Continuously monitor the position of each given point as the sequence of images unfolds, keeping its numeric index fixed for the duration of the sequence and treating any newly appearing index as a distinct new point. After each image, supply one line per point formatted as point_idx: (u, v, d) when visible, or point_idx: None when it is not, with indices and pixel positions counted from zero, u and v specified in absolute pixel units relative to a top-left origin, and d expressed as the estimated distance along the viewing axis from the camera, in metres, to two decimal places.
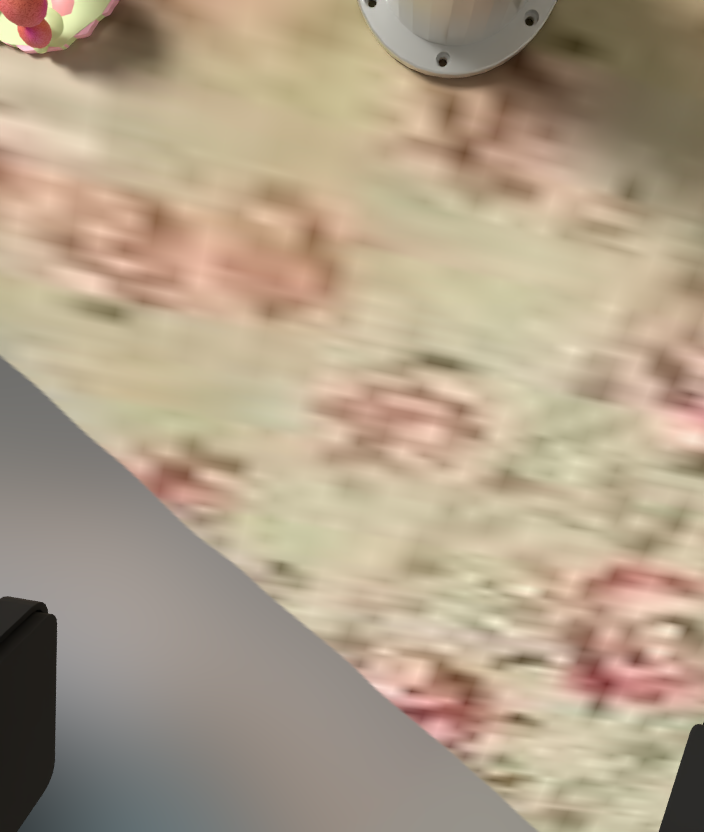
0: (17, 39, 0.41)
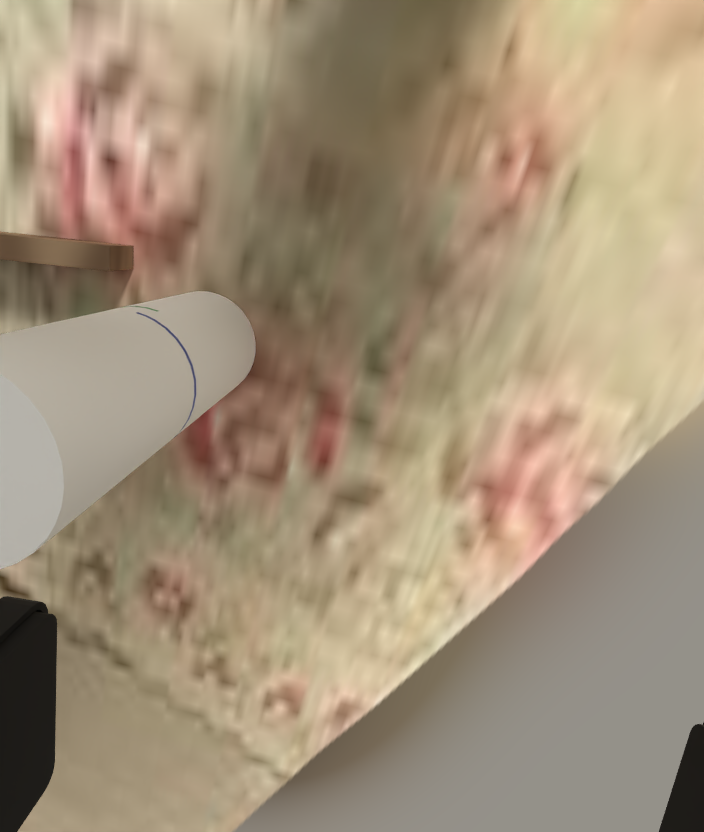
0: None
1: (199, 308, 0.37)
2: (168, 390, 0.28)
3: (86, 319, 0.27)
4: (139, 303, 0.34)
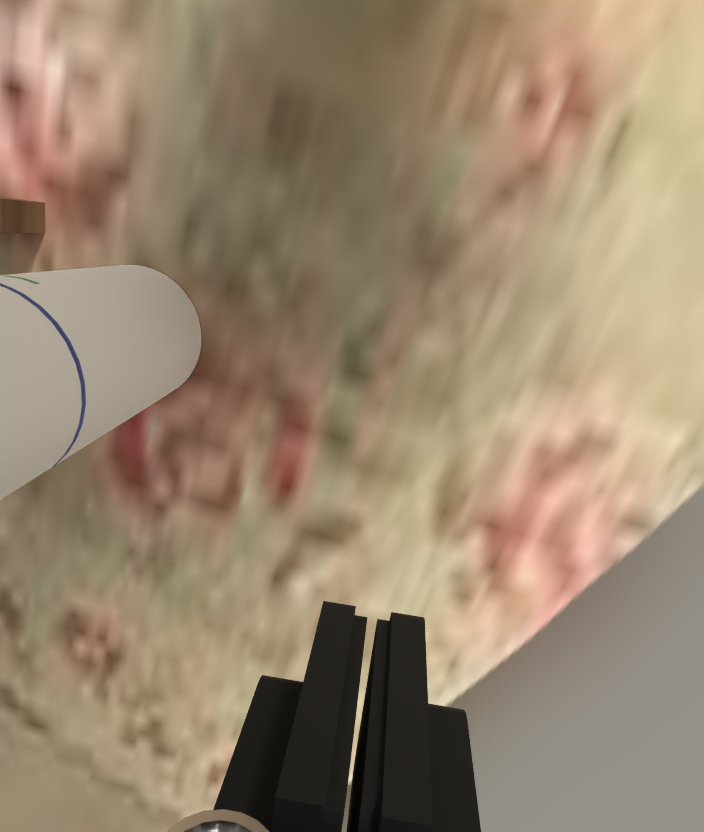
0: None
1: (114, 284, 0.27)
2: (22, 400, 0.18)
3: None
4: (21, 273, 0.25)
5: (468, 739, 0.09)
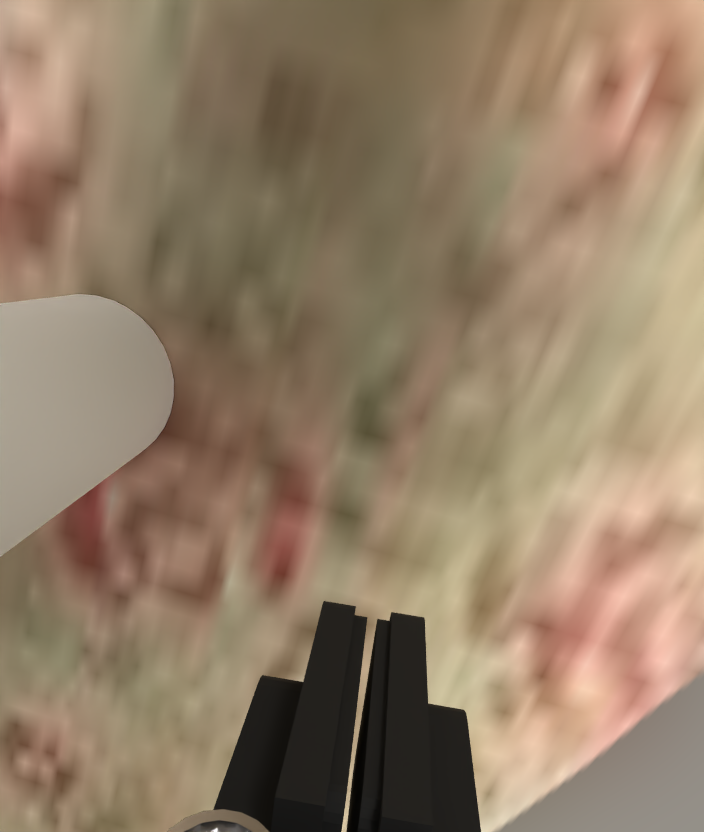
0: None
1: (46, 326, 0.20)
2: None
3: None
4: None
5: (467, 740, 0.09)
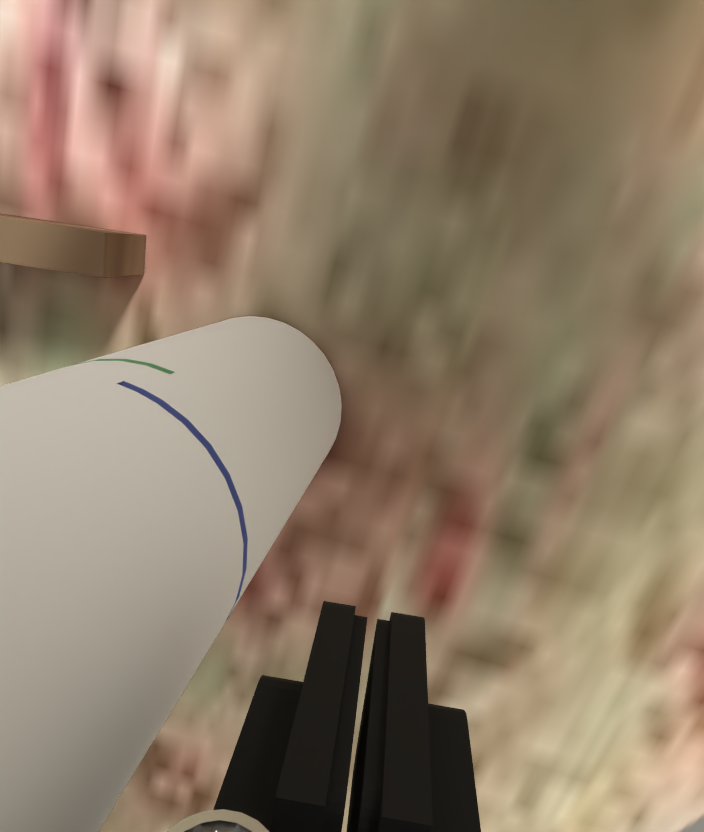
0: None
1: (256, 357, 0.19)
2: (178, 617, 0.10)
3: None
4: (138, 348, 0.17)
5: (467, 740, 0.09)
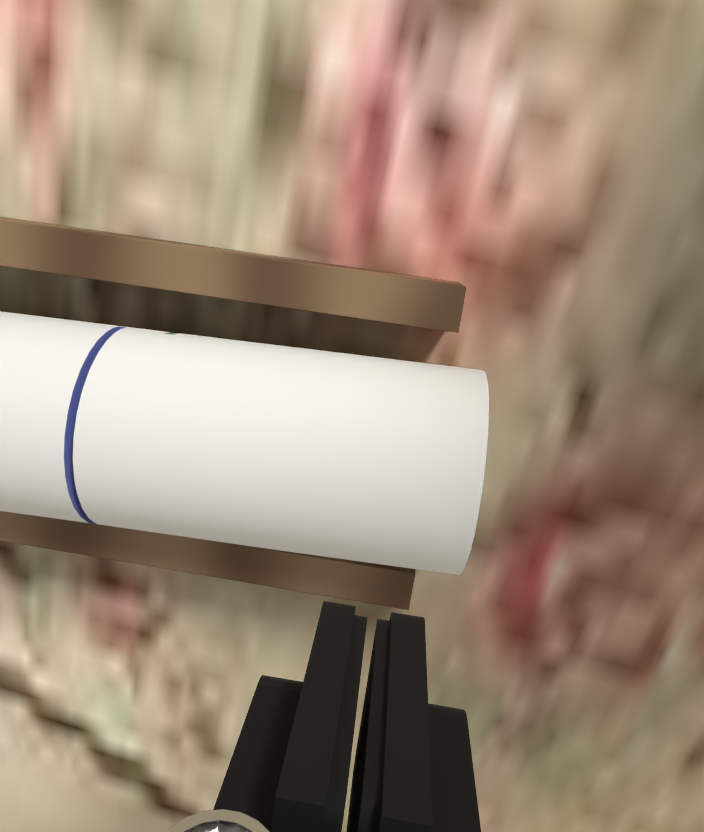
0: None
1: (298, 356, 0.21)
2: None
3: None
4: None
5: (468, 740, 0.09)
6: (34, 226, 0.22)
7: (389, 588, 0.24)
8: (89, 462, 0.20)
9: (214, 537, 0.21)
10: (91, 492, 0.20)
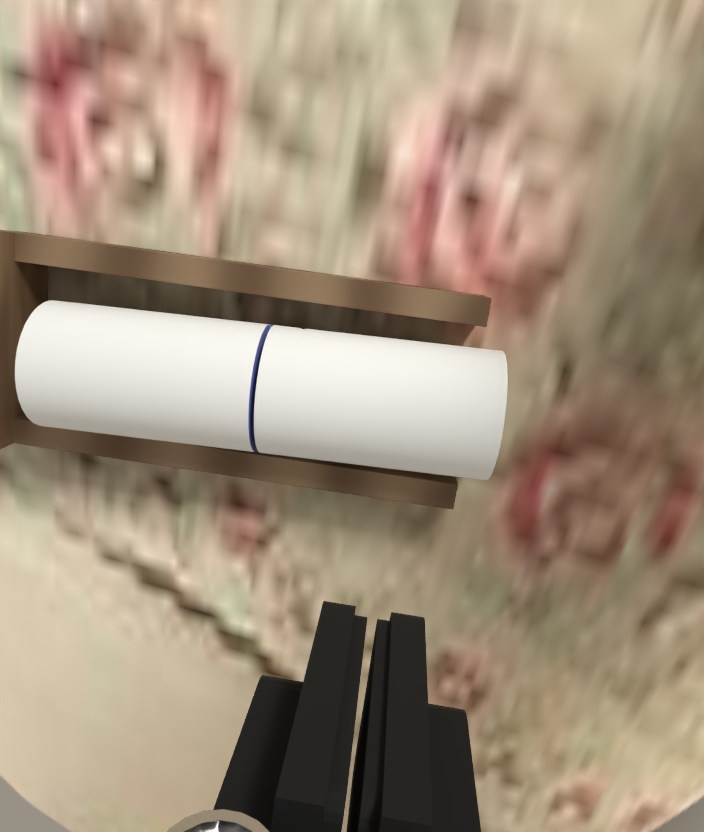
0: None
1: (387, 342, 0.34)
2: (189, 363, 0.33)
3: None
4: None
5: (467, 740, 0.09)
6: (218, 261, 0.35)
7: (440, 495, 0.37)
8: (264, 406, 0.33)
9: (335, 456, 0.34)
10: (263, 425, 0.33)
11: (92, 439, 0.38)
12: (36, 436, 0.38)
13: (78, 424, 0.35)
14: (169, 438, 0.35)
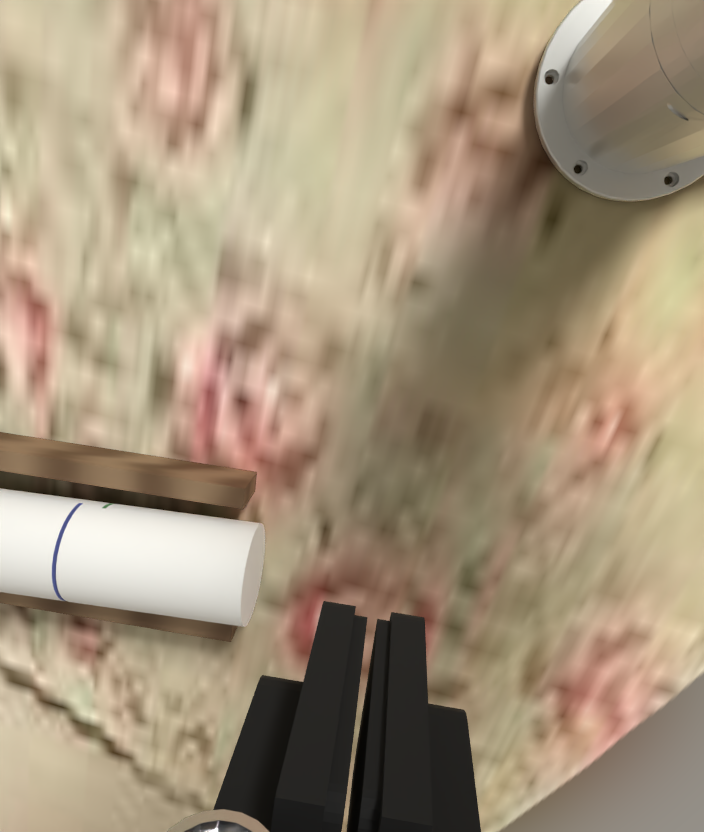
0: None
1: (164, 522, 0.44)
2: (7, 543, 0.43)
3: (34, 494, 0.46)
4: (140, 507, 0.47)
5: (467, 740, 0.09)
6: (37, 456, 0.45)
7: (220, 631, 0.47)
8: (63, 577, 0.43)
9: (125, 609, 0.44)
10: (65, 589, 0.43)
11: None
12: None
13: None
14: None
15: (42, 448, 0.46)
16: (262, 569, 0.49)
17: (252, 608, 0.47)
